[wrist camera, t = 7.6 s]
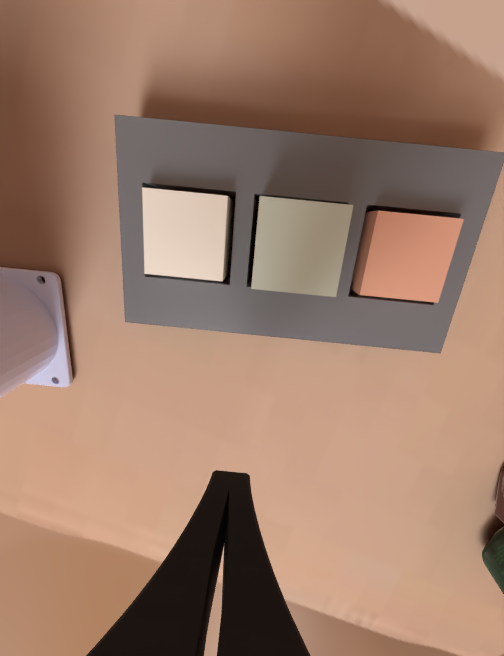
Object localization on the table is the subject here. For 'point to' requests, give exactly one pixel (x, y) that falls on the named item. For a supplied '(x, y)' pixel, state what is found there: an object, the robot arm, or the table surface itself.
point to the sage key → (300, 246)
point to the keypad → (301, 184)
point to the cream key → (187, 234)
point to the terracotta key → (404, 255)
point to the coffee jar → (495, 557)
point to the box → (500, 497)
